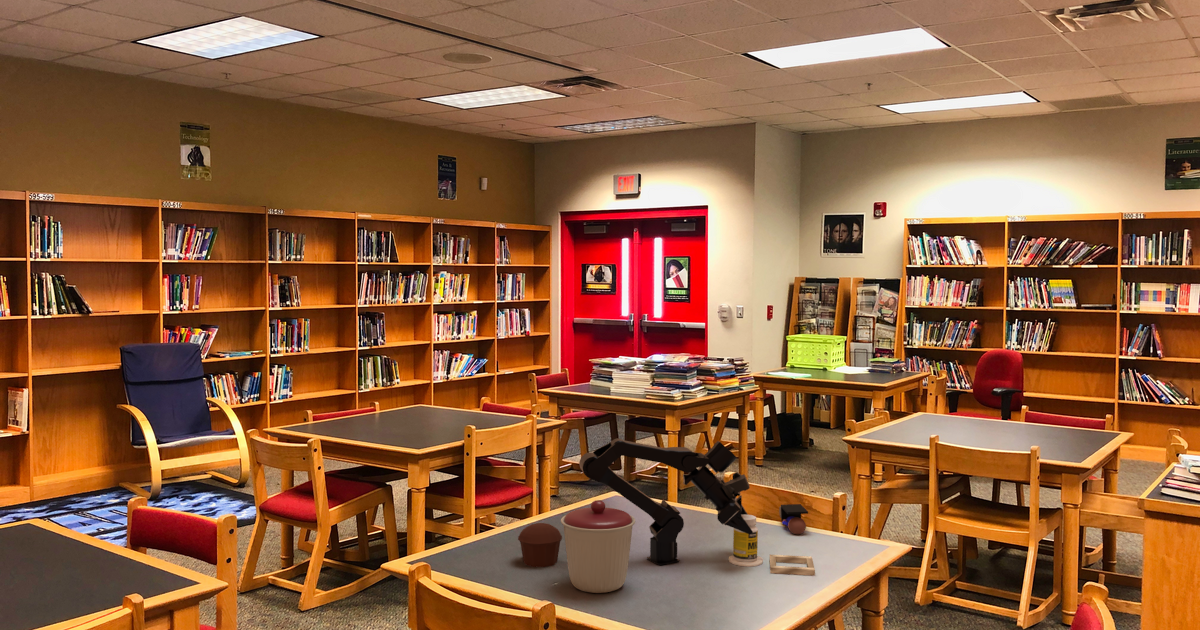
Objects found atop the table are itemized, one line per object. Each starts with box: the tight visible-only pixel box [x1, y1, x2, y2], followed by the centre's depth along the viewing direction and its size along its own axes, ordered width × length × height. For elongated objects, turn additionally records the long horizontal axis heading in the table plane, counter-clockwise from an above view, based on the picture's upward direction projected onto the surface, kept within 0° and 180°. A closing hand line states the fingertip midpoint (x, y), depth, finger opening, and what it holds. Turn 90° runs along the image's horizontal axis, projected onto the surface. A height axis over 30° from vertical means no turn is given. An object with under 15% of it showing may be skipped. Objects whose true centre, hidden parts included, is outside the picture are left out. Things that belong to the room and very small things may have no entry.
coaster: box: [728, 554, 764, 568], centre depth 241 cm, size 9×9×1 cm
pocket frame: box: [769, 554, 816, 577], centre depth 236 cm, size 11×11×2 cm
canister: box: [560, 499, 636, 594], centre depth 220 cm, size 18×18×21 cm
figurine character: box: [778, 503, 809, 536], centre depth 272 cm, size 7×8×15 cm
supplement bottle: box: [732, 514, 759, 562], centre depth 241 cm, size 6×6×11 cm
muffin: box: [517, 522, 563, 568], centre depth 239 cm, size 12×11×10 cm
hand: (751, 528), depth 240 cm, fingers open, 9 cm apart
